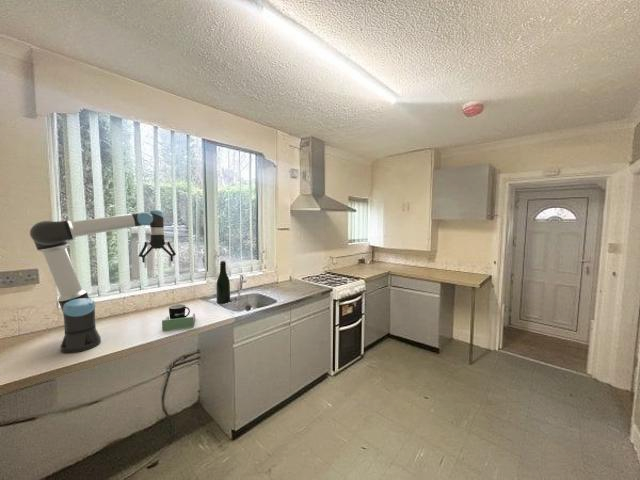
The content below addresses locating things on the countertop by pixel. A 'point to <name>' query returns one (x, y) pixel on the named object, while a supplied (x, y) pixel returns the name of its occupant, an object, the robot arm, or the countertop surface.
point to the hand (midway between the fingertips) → (158, 267)
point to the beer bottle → (223, 285)
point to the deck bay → (178, 323)
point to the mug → (178, 311)
